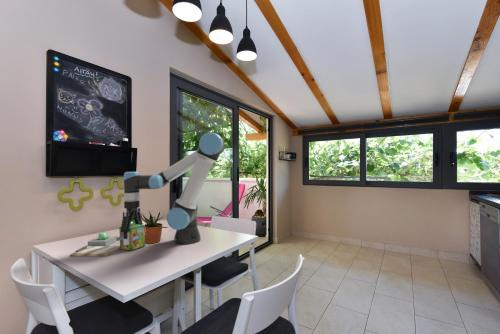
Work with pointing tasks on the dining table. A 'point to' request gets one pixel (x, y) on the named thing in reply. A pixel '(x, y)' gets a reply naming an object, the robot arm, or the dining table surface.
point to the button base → (102, 241)
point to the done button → (102, 236)
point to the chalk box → (133, 237)
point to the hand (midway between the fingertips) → (132, 241)
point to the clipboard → (95, 251)
